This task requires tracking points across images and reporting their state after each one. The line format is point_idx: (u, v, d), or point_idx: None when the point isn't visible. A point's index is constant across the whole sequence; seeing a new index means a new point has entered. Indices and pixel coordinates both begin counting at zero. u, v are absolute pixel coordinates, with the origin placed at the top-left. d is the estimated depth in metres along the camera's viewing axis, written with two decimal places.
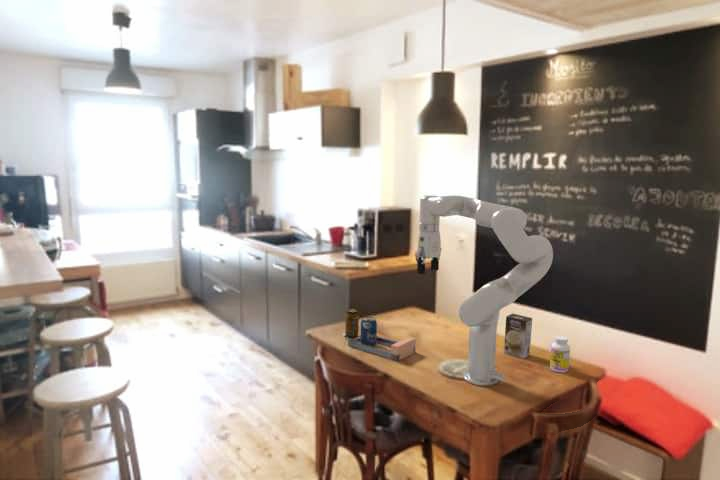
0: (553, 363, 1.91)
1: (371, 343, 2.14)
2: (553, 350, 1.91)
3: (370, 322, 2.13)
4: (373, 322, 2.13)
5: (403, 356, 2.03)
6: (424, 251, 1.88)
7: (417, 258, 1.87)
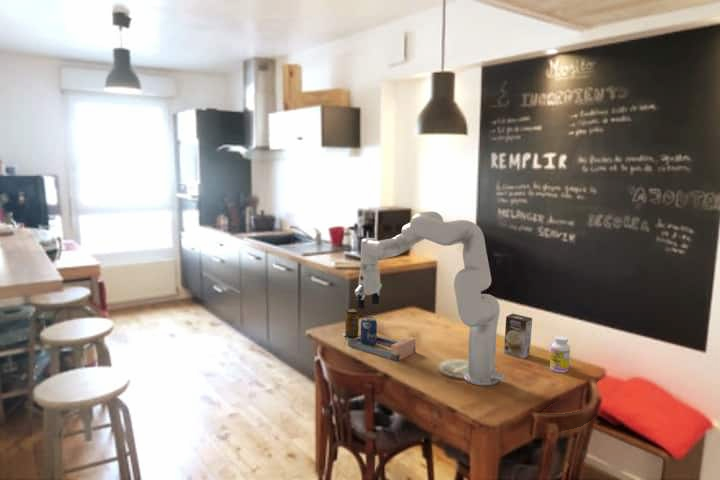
0: (553, 363, 1.91)
1: (371, 343, 2.14)
2: (553, 350, 1.91)
3: (370, 322, 2.13)
4: (373, 322, 2.13)
5: (403, 356, 2.03)
6: (363, 289, 2.09)
7: (357, 295, 2.08)
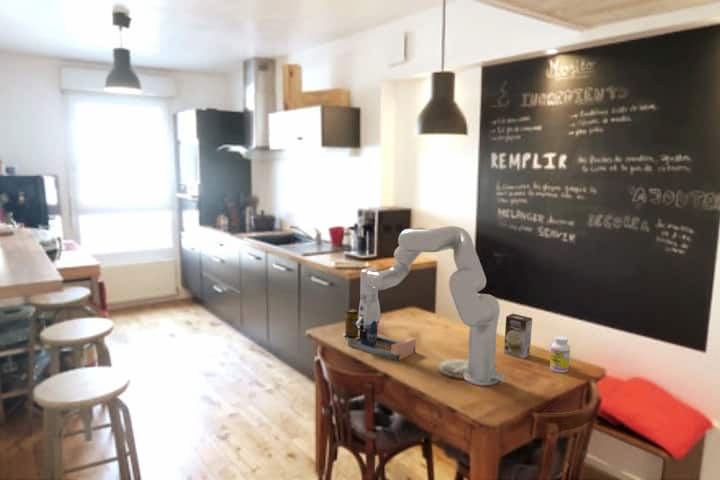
0: (553, 363, 1.91)
1: (371, 343, 2.14)
2: (553, 350, 1.91)
3: None
4: (373, 322, 2.13)
5: (403, 356, 2.03)
6: (363, 320, 2.11)
7: (358, 326, 2.11)
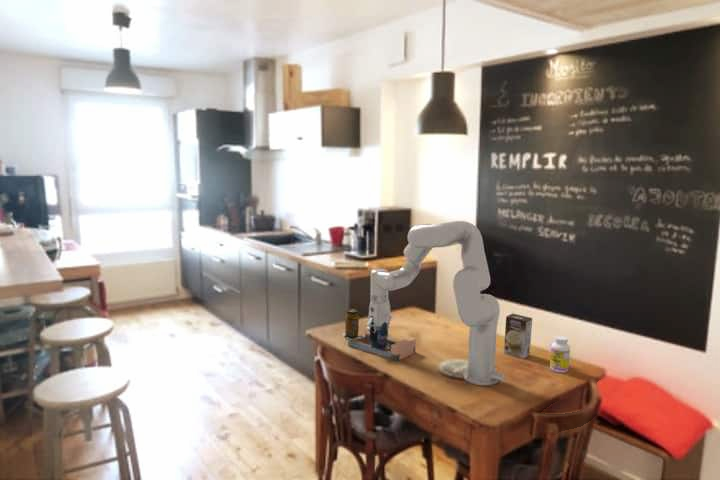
0: (553, 363, 1.91)
1: (382, 345, 2.10)
2: (553, 350, 1.91)
3: None
4: (383, 323, 2.10)
5: (403, 356, 2.03)
6: (374, 322, 2.07)
7: (369, 328, 2.07)
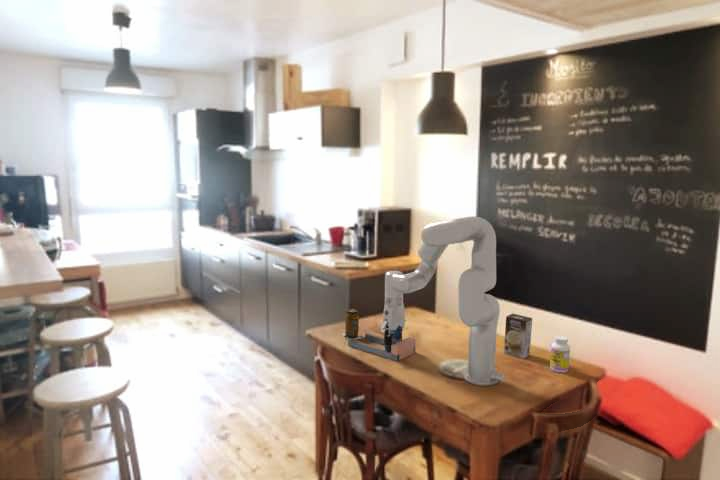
0: (553, 363, 1.91)
1: None
2: (553, 350, 1.91)
3: None
4: (398, 327, 2.05)
5: (403, 356, 2.03)
6: (388, 325, 2.02)
7: (383, 331, 2.02)
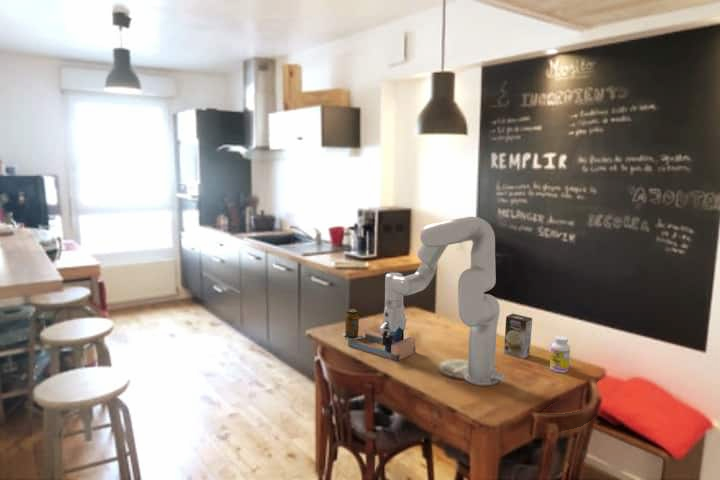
0: (553, 363, 1.91)
1: None
2: (553, 350, 1.91)
3: None
4: (398, 329, 2.05)
5: (403, 356, 2.03)
6: (388, 325, 2.02)
7: (382, 332, 2.01)
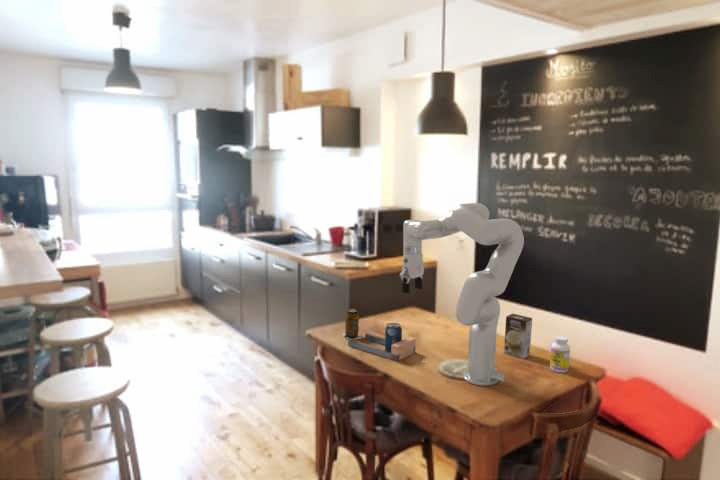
0: (553, 363, 1.91)
1: None
2: (553, 350, 1.91)
3: (395, 329, 2.04)
4: (398, 329, 2.05)
5: (403, 356, 2.03)
6: (408, 272, 2.02)
7: (402, 278, 2.01)
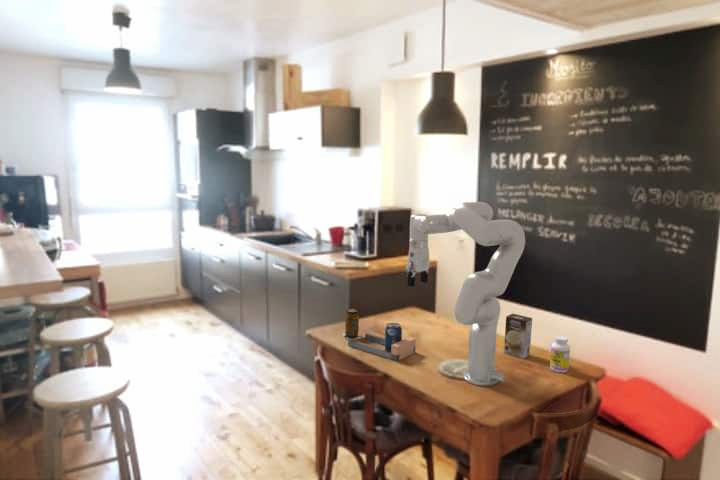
0: (553, 363, 1.91)
1: None
2: (553, 350, 1.91)
3: (395, 329, 2.04)
4: (398, 329, 2.05)
5: (403, 356, 2.03)
6: (414, 265, 2.03)
7: (407, 272, 2.03)
